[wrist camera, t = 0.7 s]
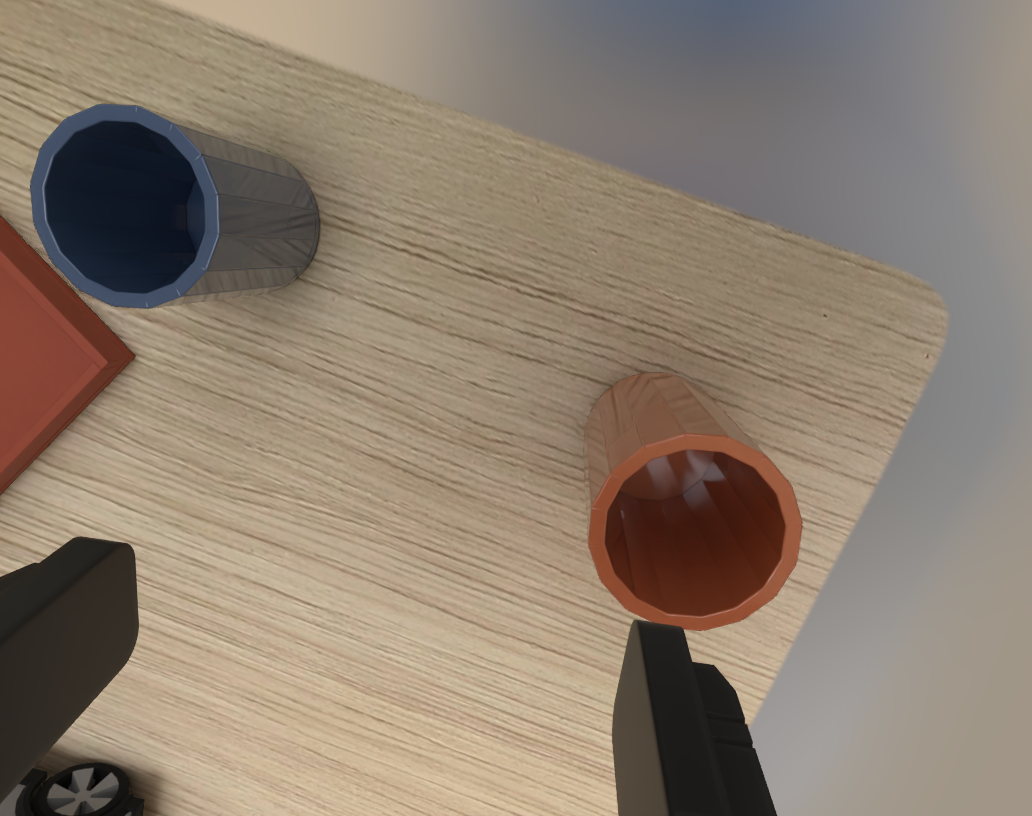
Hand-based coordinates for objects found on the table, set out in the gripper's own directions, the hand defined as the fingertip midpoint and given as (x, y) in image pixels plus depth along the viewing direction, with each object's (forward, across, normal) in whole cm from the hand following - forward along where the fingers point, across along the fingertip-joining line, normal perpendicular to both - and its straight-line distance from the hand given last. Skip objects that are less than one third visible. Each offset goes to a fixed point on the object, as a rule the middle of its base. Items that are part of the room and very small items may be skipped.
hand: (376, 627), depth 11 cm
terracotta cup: (+20, -8, +4) cm, 22 cm away
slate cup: (+22, +11, -4) cm, 25 cm away
